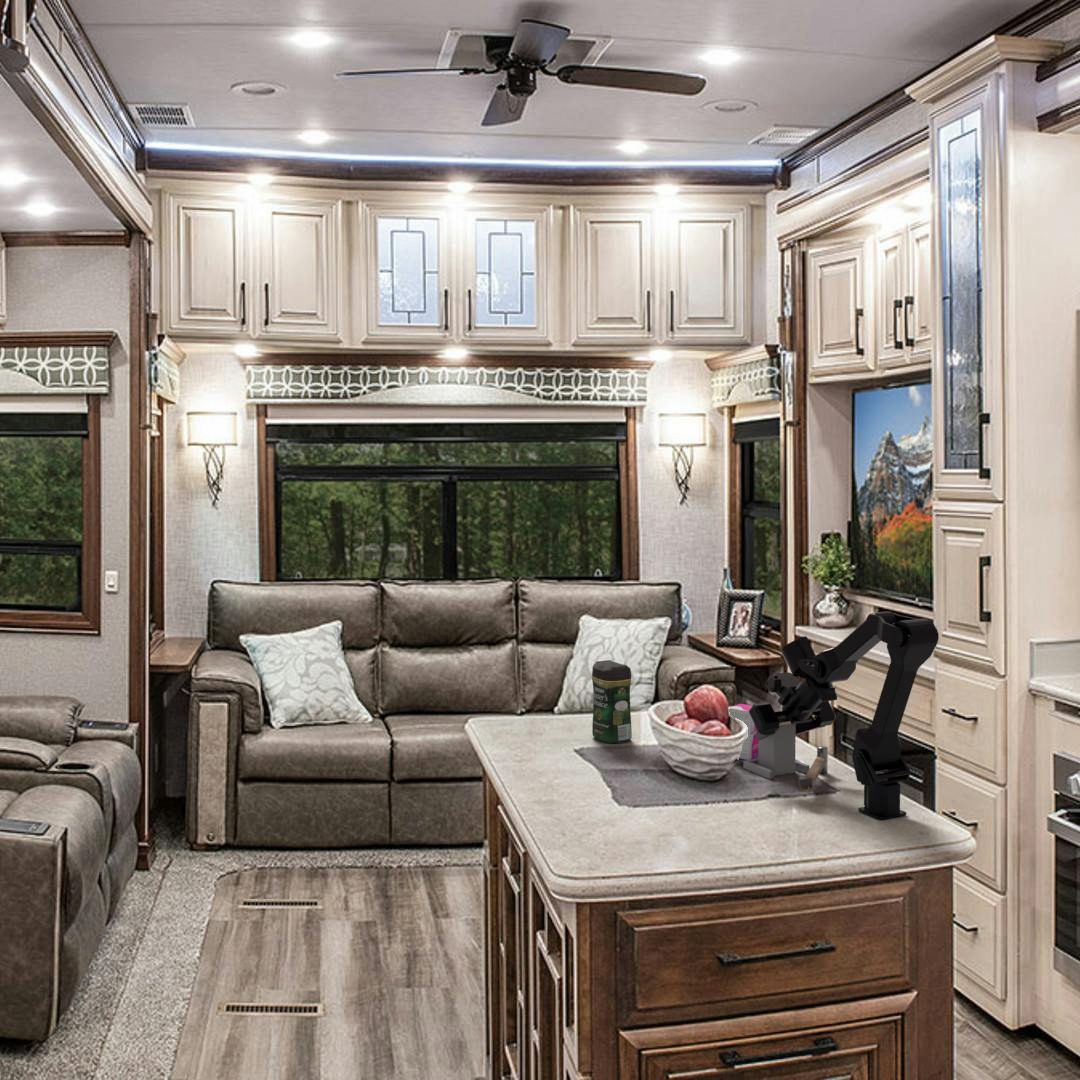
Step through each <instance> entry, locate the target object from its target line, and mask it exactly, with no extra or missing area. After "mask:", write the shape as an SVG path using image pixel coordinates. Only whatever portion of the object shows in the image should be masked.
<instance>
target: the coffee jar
mask: <svg viewBox="0 0 1080 1080" xmlns="http://www.w3.org/2000/svg"><path fill="white" fill-rule="evenodd" d="M592 665H593V666H592V671H591V672H592V673H591V680H592V692H593V699H592V700H593V701H592V728H591V729H592V731H591V732H592V736H593V738H595V739H596V740H598V741H601V742H604V743H607V744H612V743H613V744H623V743H626V742H628V741H630V740H631V739H632V736H633V734H632V715H631V686H632V685H631V684H632V671H631V667H630V666H628V665H627V664H624V663H623V664H622V663H618V662H615V661H612V660H611V659H607V660H598V661H596V662H595V663H594V664H592Z"/></svg>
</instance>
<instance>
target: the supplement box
mask: <svg viewBox="0 0 1080 1080" xmlns="http://www.w3.org/2000/svg"><path fill="white" fill-rule="evenodd" d="M752 706H753V705H750V704H744V703H738V704H735V705H733V706H730V707H729V708H730V709H729V712H730V715H731V716H732V717H733V718H737V719H739V720H741V721H743V722H744V723H745V724H746V725H747V727H748V737H747V739H746V740H745V741H744V743H743V745H742V751H741V754H740V757H739V760H740V761H739V760H738V761H739V762H743V761H745V760H752V759H759V740H757V738H756V733H757V728H756V726H755V724H754V722H753V720H752V717H751V715H750V713H749V710H750V708H751V707H752Z"/></svg>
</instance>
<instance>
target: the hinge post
mask: <svg viewBox="0 0 1080 1080" xmlns="http://www.w3.org/2000/svg"><path fill="white" fill-rule="evenodd" d="M828 751H829V749H828V746H824V745H819V746H816V757H825V758H826V763H825V765H824V767H823V769H822V770H821V772H820V774H819V775H827V774H828V770H829V769H828V768H829V767H828V762H829V761H828V759H829V757H828V756H829V755H828V753H829V752H828Z"/></svg>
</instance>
